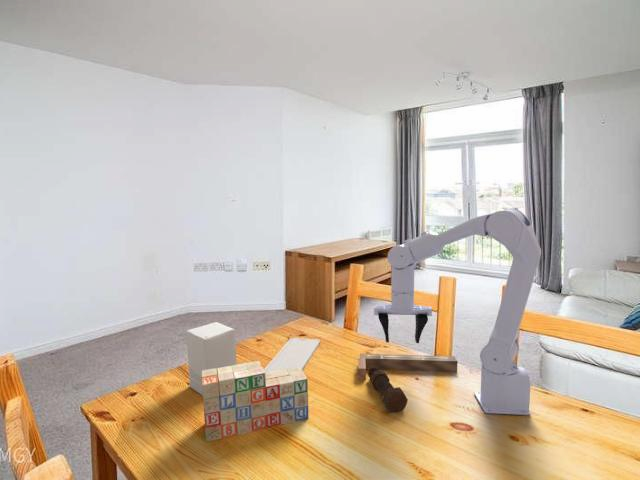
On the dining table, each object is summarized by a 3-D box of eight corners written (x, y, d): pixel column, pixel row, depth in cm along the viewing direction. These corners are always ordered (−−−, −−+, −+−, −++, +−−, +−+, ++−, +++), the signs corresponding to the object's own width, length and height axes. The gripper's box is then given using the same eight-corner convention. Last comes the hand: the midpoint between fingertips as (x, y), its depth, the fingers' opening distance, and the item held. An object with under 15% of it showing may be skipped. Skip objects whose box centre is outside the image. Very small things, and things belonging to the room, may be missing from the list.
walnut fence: (454, 366, 101) (454, 355, 101) (463, 383, 92) (463, 371, 92) (358, 363, 104) (358, 353, 104) (358, 379, 95) (357, 368, 95)
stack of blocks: (301, 404, 85) (299, 353, 83) (309, 419, 79) (307, 365, 77) (204, 424, 78) (201, 369, 76) (205, 442, 72) (201, 383, 70)
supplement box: (239, 385, 93) (236, 328, 91) (207, 400, 87) (203, 339, 85) (220, 373, 99) (217, 320, 98) (188, 386, 93) (185, 330, 91)
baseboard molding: (244, 388, 93) (289, 395, 90) (244, 378, 92) (289, 383, 89) (286, 341, 122) (320, 344, 119) (285, 332, 122) (320, 335, 119)
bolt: (376, 385, 95) (399, 418, 81) (360, 378, 94) (380, 409, 80) (386, 366, 96) (411, 394, 81) (370, 358, 95) (393, 386, 80)
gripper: (428, 287, 97) (427, 336, 99) (373, 286, 99) (373, 334, 100) (434, 294, 90) (432, 346, 92) (374, 293, 92) (374, 345, 93)
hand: (402, 341), depth 96 cm, fingers open, 7 cm apart
